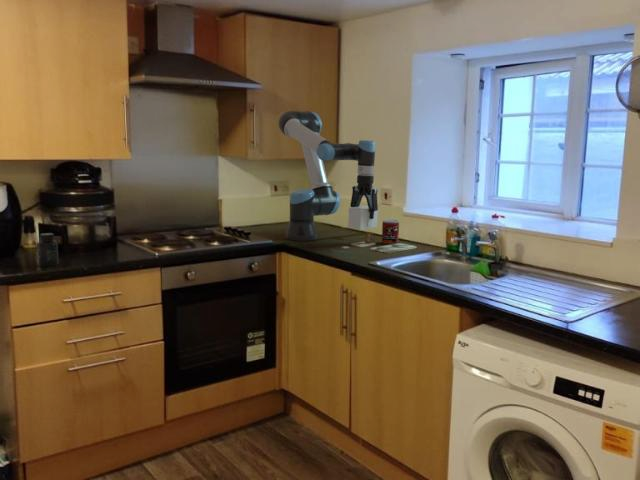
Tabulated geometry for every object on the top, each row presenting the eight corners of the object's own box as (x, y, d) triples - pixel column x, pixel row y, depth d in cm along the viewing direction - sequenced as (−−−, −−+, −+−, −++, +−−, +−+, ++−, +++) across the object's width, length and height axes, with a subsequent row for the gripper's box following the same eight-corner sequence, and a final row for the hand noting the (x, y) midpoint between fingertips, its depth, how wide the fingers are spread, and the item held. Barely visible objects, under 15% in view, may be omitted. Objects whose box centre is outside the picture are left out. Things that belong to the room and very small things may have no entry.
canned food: (380, 244, 285) (381, 221, 283) (383, 241, 293) (383, 219, 291) (397, 245, 283) (398, 222, 281) (399, 242, 291) (399, 219, 289)
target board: (370, 249, 272) (370, 247, 271) (399, 244, 285) (399, 242, 285) (387, 253, 264) (387, 250, 264) (416, 248, 278) (416, 245, 278)
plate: (351, 245, 282) (351, 235, 281) (365, 242, 288) (366, 232, 288) (360, 247, 277) (360, 236, 277) (375, 244, 284) (375, 234, 283)
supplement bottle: (36, 264, 231) (34, 233, 229) (55, 262, 235) (54, 232, 233) (41, 268, 225) (39, 236, 223) (60, 266, 229) (58, 234, 227)
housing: (348, 227, 281) (349, 207, 279) (365, 224, 289) (366, 205, 287) (360, 229, 275) (361, 209, 274) (377, 227, 283) (378, 207, 281)
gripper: (343, 173, 282) (341, 221, 287) (376, 177, 267) (374, 228, 272) (355, 172, 287) (352, 220, 292) (388, 176, 272) (385, 226, 277)
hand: (363, 224), depth 282 cm, fingers closed on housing, 8 cm apart
